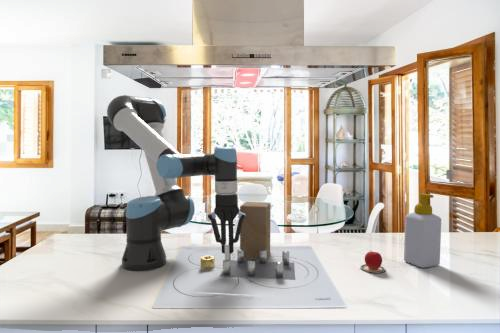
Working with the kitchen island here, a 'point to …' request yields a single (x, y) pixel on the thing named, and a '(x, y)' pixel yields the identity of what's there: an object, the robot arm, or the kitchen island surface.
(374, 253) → the apple
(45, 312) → the kitchen island surface
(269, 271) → the grey flat plate
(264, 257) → the set of silver pegs
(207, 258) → the nut
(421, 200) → the soap bottle
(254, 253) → the wooden block
